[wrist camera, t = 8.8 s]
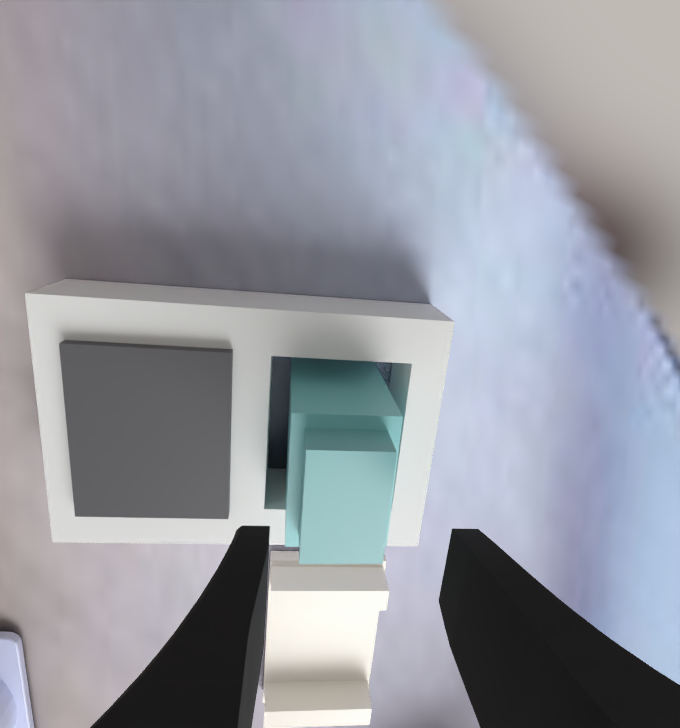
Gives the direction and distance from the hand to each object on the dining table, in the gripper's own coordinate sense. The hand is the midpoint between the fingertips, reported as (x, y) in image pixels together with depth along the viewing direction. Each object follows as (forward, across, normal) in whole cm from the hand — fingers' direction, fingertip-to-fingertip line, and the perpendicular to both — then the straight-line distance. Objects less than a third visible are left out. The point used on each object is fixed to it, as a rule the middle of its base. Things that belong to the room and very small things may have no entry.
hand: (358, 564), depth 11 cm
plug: (+9, 0, 0) cm, 9 cm away
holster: (+9, 0, +11) cm, 14 cm away
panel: (+9, +3, 0) cm, 9 cm away
